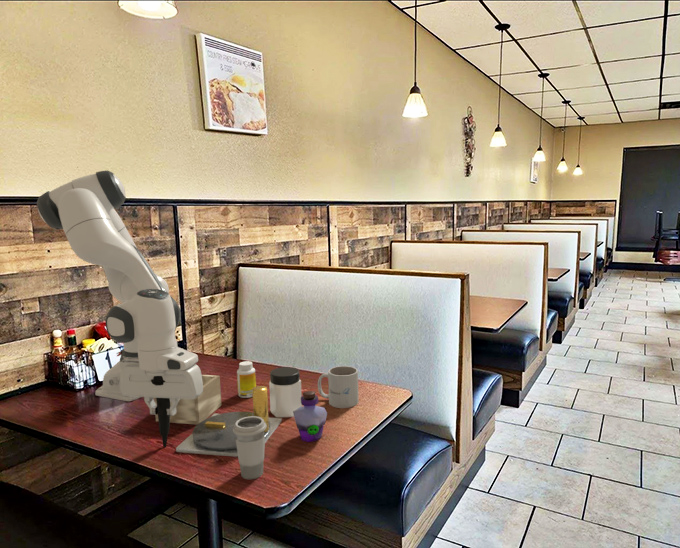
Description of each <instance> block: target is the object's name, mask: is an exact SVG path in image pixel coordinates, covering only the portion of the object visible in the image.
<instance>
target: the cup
mask: <svg viewBox="0 0 680 548" xmlns="http://www.w3.org/2000/svg"><path fill="white" fill-rule="evenodd" d="M266 427H267V425H266V423H265V422H264V420H263V419H262V418H261V417H257V416H249V417H244V418H241V419H239V420H238V421H236V423H235V426H234V428H233V432H234V433H235V434H236V445H237V453H238V457H237V458H238V463H239V467H240V475H241V478H243V479H245V480H255V479H258V478H260V477H262V475H264V461H265V445H266V443H265V433H264V430H265V429H266Z"/></svg>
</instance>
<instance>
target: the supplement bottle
mask: <svg viewBox="0 0 680 548" xmlns="http://www.w3.org/2000/svg"><path fill="white" fill-rule="evenodd" d="M238 366H239V367H238V369H237V370H236V378H237V379H236V380H237V382H236V383H237V394H238V395H237V396H238V397H240V398H241V399H242V398H243V399H250V398H253V392H252V389H253V388H254V387H257V379H256V377H257V375H256V369H255V367H253V362H252V361H251V360H250V361H249V360H247V361H242V362H241V361H240V362H239V364H238Z"/></svg>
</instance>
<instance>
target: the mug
mask: <svg viewBox="0 0 680 548" xmlns="http://www.w3.org/2000/svg"><path fill="white" fill-rule="evenodd" d="M323 378H327V379H328V394H327V393H325V392H324V391H323V388H322V380H323ZM317 391H318V393H319V394H320V396H321V397H323V398H324V399H328V404H329V405H330V406H331V407H334V408H339V409H347V408H352V407H355V406H357V405H358V404H359V370H358V368H356V367H354V366H349V365H339V366H338V365H337V366H334V367H331V368H329V369H328V371H327V373H322V374H321V375H319V378H318V380H317Z"/></svg>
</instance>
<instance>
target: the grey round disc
mask: <svg viewBox="0 0 680 548" xmlns="http://www.w3.org/2000/svg"><path fill="white" fill-rule="evenodd" d="M252 392H253V397H252V408H253V409H252V410H253V412H252V411H230V412H224V413H218V414H219V415H215V416H212V415H211V416H212V417H211V416H209V417H208V418H207V419H205V420H203V421H202V422H200V423H199V424H198V425H195V426H194V428H193V430H192V433H193V440H194V442H195V443H196V444H198V445H199V446H201V447H204V448H208V449H214V450H229V449H237V445H236V434H235V433H234V432H233V428H234V426H235V423H236V421H238V420H239V419H241V418H244V417H249V416H257V417H261V418H262V419H263V420H264V422H265V423H266V425H267V427H266V429H265V430H264V433H265V436H266V435H267V434H268V433H269V431H270V422H269V418H270V416H269V397H268V396H269V395H268V387H267V386H265V385H256V387H254V388H253V389H252Z"/></svg>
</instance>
